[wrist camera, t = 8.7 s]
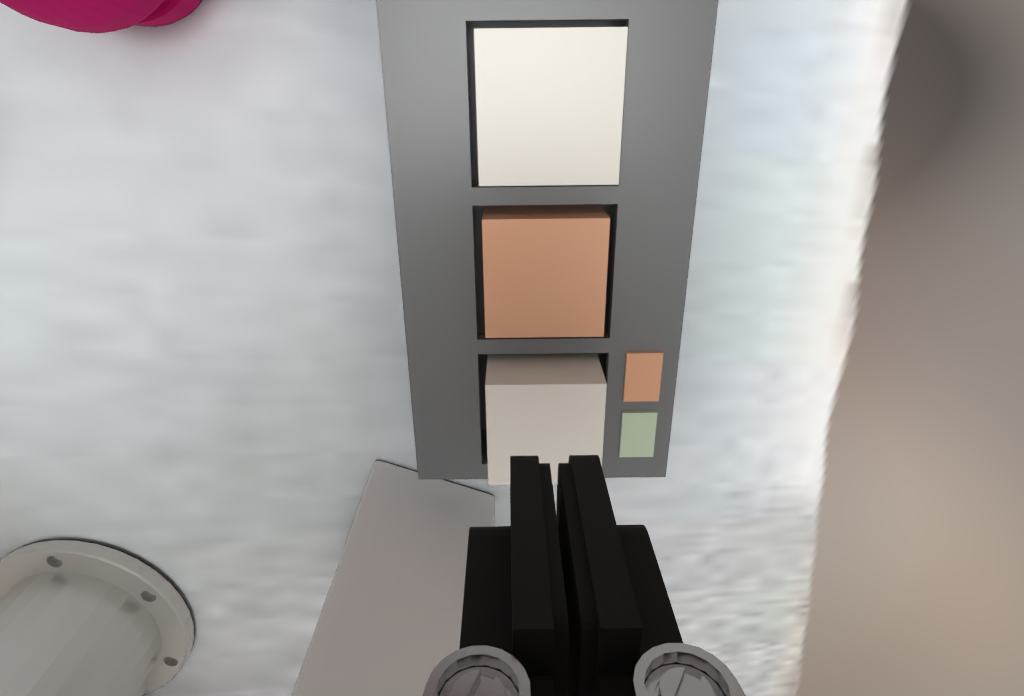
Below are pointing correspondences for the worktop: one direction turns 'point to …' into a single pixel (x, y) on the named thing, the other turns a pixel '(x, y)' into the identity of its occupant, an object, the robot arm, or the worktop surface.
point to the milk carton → (395, 588)
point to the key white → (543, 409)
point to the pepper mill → (103, 13)
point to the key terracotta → (545, 270)
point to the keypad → (460, 204)
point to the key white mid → (549, 105)
